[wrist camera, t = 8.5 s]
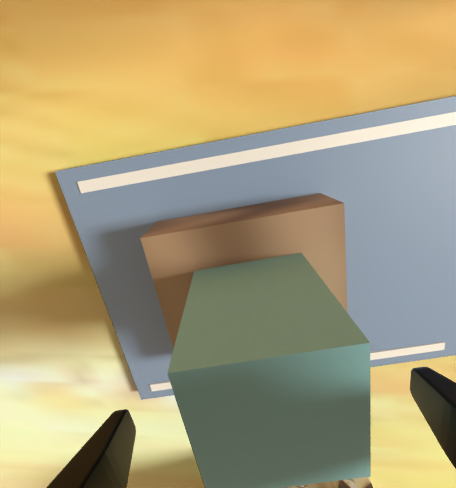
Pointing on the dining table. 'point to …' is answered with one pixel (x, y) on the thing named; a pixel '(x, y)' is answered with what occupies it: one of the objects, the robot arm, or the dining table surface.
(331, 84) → the dining table surface
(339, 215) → the plinth
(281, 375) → the teal block
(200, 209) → the board
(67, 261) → the dining table surface
